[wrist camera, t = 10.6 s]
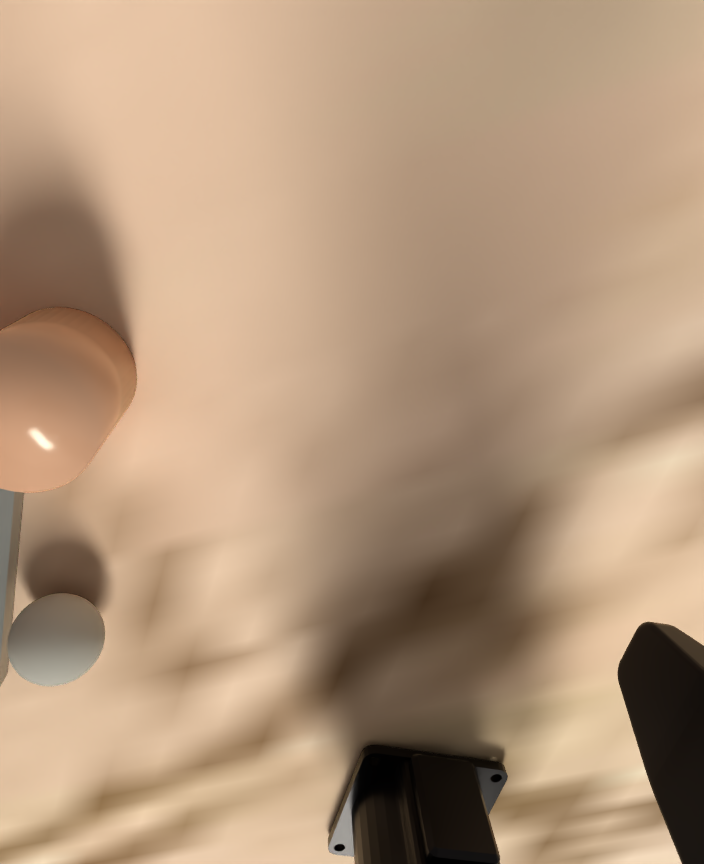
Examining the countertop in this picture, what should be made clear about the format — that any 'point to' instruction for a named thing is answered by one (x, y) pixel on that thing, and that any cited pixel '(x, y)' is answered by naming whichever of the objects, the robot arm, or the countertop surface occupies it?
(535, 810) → the countertop surface
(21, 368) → the peach rounded capsule
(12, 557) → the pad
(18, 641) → the grey ball
